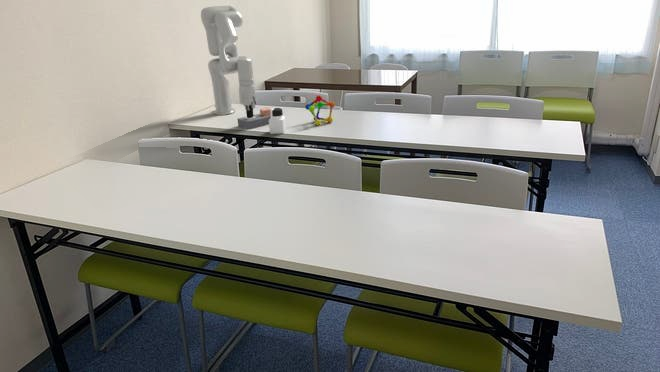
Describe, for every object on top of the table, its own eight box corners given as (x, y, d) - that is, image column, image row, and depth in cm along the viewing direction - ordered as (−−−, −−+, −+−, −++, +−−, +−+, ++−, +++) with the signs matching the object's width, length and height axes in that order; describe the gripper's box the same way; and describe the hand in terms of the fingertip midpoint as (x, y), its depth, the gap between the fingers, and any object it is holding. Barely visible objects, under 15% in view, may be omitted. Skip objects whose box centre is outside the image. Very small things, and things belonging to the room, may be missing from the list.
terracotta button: (260, 116, 266) (259, 109, 264) (267, 115, 268) (266, 107, 267) (265, 118, 262) (264, 110, 261) (271, 116, 265) (271, 109, 263)
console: (238, 125, 261) (237, 118, 260) (269, 118, 273) (268, 111, 271) (248, 129, 254) (247, 121, 253) (279, 121, 266) (278, 114, 264)
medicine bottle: (286, 129, 250) (284, 106, 246) (283, 133, 244) (281, 110, 239) (272, 129, 251) (270, 107, 246) (269, 133, 244) (267, 110, 240)
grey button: (245, 124, 261) (244, 117, 259) (252, 123, 263) (251, 115, 262) (249, 126, 257) (248, 118, 256) (256, 124, 260) (256, 117, 259)
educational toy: (319, 119, 270) (320, 92, 265) (336, 123, 261) (337, 95, 256) (298, 123, 259) (298, 94, 254) (315, 127, 251) (315, 98, 246)
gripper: (232, 82, 255) (236, 116, 262) (247, 85, 244) (251, 121, 251) (245, 80, 259) (248, 113, 266) (260, 83, 249) (263, 118, 256)
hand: (250, 117), depth 259 cm, fingers closed
